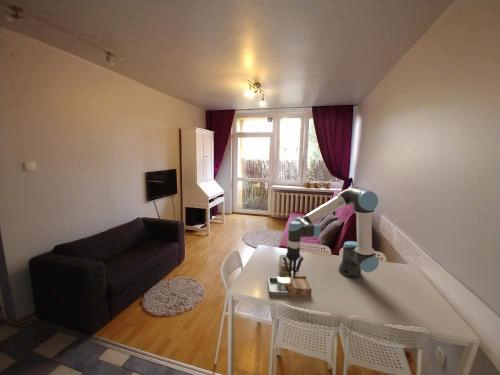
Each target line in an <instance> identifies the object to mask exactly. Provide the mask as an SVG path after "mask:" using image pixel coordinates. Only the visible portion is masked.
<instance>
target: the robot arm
mask: <svg viewBox="0 0 500 375" xmlns="http://www.w3.org/2000/svg"><path fill="white" fill-rule="evenodd" d="M348 205H353V212H354V213H355V216H356V241H354V240H353V241H352V240H348V241H345V242H344V243H343V246H342V248H343V249H342V260H341V262H340V264H339V265H338V272H339V273H340V275H341V276H345V277H347V278H353V279H357V278H361V276H362V271H363V272H365V273H371V272H374V271H375V270H377V268H378V266H379V263H380V261H379V259H378V257H376V256H375V254H376V253H375V249H374V248H373V244H372V243H373V240H372V239H373V237H372V236H373V234H372V232H373V231H372V226H373V224H372V220H373V219H372V214H373V213H375V210H376V208H377V207H378V205H379V197H378V195H377V193H375V192H374V191H372V190H370V189H364V188H361V187H359V186H358V187H357V186H353V187H352V186H351V187H348V188H345V189H344V190H342V191H339V193H337V194H336V196H335V197H333V198H330V200H328V201H327V202H325V203H323V204H321V205H320V206H318V207H317V208H315V209H313V210H312V211H310V212H308V213H307V214H305V215H303V216H296V218H295V219H294V220H291V221H290V222H289V224H288V229H287V230H288V233H287V234H288V235H287V251H286V254H284V255H285V256H283V259H284V261H285V267H286V271H287V272H289V277H290V281H291V283H293V277H295V276H296V273H299V271H300V268H301V265H302V262H303V261H304V257H303V256H302V255H301V254H300V251H301V239H302V238H316V237H319V236H320V235H321V231H322V230H321V227H320V225H319V224H315V223H317V222H319V221H321V220H322V219H323V218H326V217H327V216H329V215H330V214H332V213H334V212H335V211H337V210H339V209H340V208H342V207H346V206H348ZM287 257H288V259H289V269H288V266H287V261H286V259H287ZM292 261H293V271H291V270H292Z"/></svg>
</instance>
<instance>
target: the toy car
mask: <svg viewBox="0 0 500 375" xmlns="http://www.w3.org/2000/svg"><path fill="white" fill-rule="evenodd" d="M285 255H286V254H281V255H279V259H278V260H279V261H278V265H279V266H278V270H279V271H278V277H285V275H288V276H289V272H287V271H286V267H285V261H284V259H283V256H285ZM286 261H287V266H288V269H289V259H288V257H287V259H286ZM291 271H293V261H292V270H291Z"/></svg>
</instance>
